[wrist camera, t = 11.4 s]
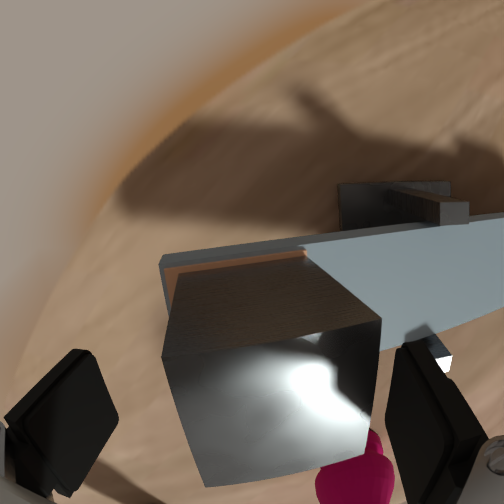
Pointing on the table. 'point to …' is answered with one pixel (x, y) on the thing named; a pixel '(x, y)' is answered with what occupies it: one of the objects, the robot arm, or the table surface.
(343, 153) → the table surface
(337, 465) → the pepper mill
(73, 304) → the table surface
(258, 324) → the iron block
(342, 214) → the stand
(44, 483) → the robot arm
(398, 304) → the beam
